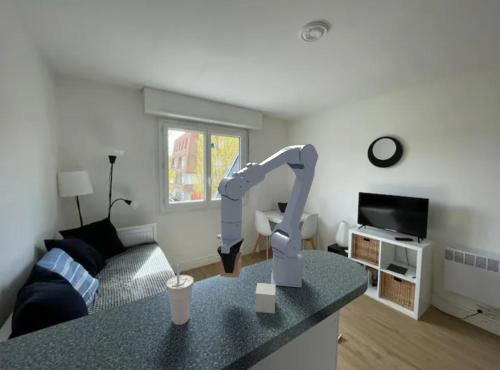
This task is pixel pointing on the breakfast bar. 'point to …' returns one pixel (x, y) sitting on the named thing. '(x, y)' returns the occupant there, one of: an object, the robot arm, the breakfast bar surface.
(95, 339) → the breakfast bar surface
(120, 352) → the breakfast bar surface
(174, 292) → the white cup with straw
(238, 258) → the terracotta cube
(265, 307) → the offwhite cube
